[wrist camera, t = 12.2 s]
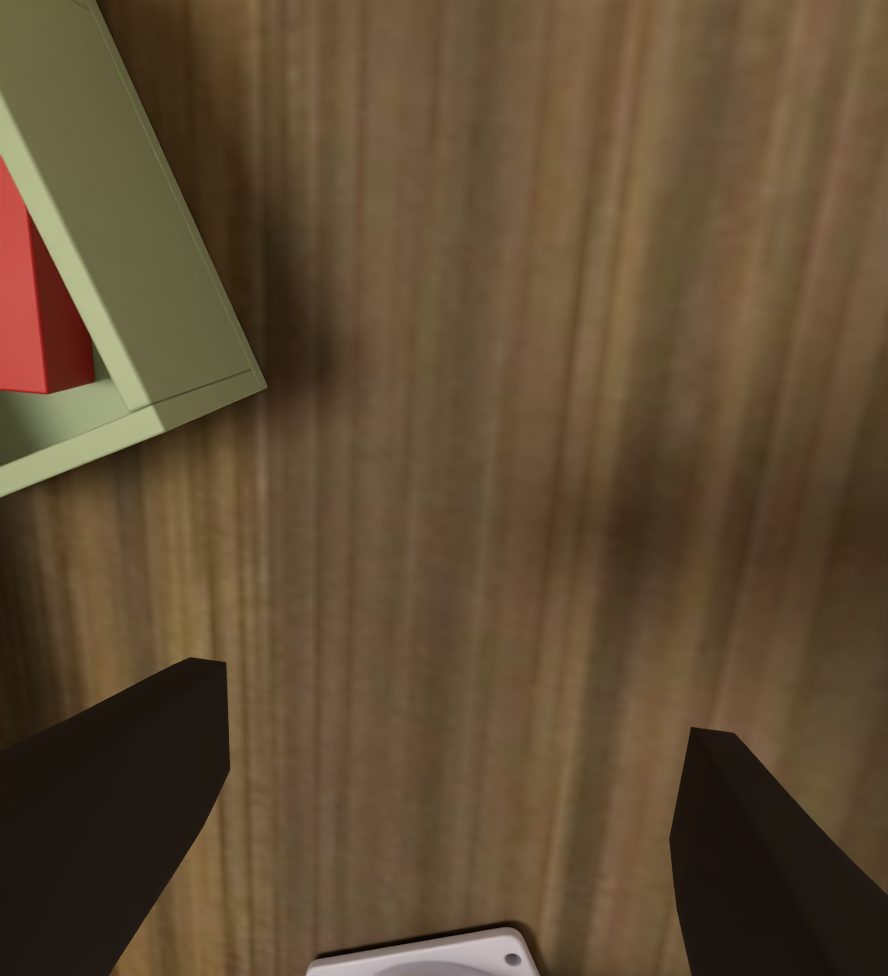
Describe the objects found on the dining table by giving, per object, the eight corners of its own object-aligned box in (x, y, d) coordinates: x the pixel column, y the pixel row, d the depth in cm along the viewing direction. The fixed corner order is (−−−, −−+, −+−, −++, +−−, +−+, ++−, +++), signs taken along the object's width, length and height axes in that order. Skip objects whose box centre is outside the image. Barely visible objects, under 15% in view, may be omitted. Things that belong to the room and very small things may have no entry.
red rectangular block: (96, 383, 20) (48, 395, 18) (-9, 373, 20) (-68, 384, 18) (76, 144, 18) (19, 130, 16) (-41, 138, 18) (-109, 124, 17)
